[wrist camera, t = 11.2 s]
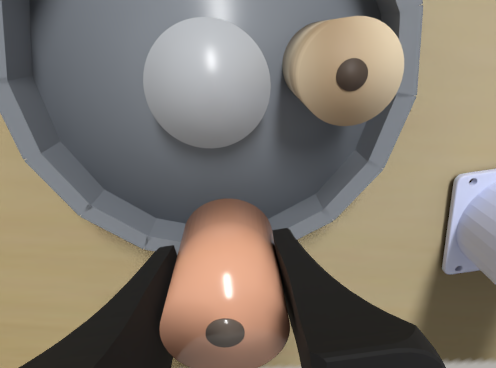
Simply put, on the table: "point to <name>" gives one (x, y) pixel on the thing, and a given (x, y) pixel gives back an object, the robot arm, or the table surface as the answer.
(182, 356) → the terracotta bead
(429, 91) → the table surface
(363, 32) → the birch bead
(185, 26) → the groove tray
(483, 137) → the table surface
